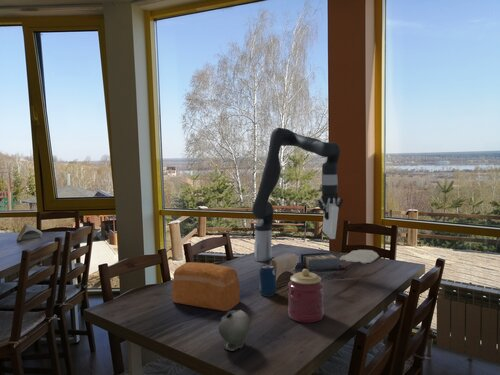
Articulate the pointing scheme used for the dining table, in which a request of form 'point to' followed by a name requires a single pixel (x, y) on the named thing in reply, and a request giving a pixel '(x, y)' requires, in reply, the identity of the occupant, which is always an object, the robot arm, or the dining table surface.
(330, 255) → the offcut block right
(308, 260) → the offcut block left
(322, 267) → the metal rack
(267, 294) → the soda can
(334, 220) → the cream board
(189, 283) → the bread
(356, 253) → the stone tablet
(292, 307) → the canister
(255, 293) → the dining table surface
